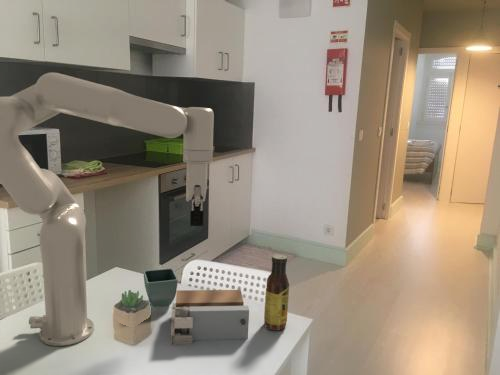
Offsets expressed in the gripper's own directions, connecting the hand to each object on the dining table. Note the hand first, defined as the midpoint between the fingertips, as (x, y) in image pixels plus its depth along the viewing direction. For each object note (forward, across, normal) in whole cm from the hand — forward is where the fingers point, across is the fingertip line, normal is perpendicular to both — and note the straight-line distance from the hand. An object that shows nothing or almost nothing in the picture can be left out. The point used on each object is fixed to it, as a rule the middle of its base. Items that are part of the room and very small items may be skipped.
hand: (196, 220), depth 111 cm
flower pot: (+28, -9, -10) cm, 32 cm away
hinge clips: (+28, +9, -3) cm, 30 cm away
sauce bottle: (+28, +5, +22) cm, 36 cm away
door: (+28, +10, +5) cm, 31 cm away
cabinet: (+28, +1, +4) cm, 29 cm away
